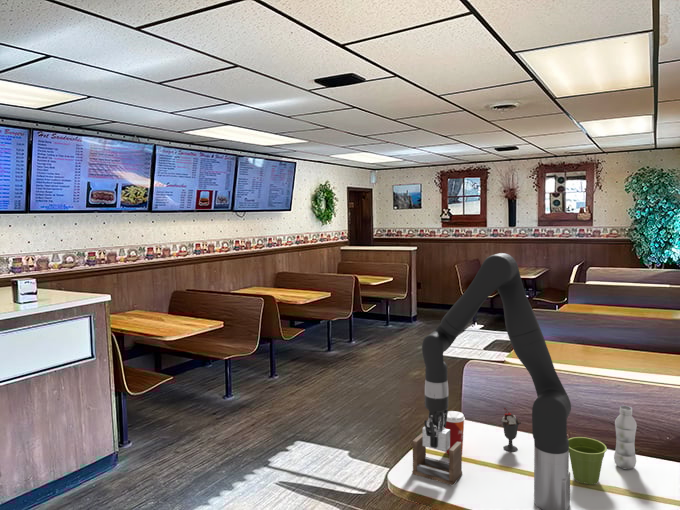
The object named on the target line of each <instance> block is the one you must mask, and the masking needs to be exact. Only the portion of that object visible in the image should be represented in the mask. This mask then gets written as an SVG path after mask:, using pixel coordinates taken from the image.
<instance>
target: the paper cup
mask: <svg viewBox="0 0 680 510" xmlns="http://www.w3.org/2000/svg"><path fill="white" fill-rule="evenodd" d="M465 420H466V418H465V416H464V414H463V412H460V411H457V410H456V411H455V410H448V415H447V422H446V427H445V429H449V430H450V448H451V447H452V446H453V445H454V444H455V443H456V442H457V441H458V442H461V446H462V450H463V446H464V428H465V426H464V425H465ZM450 448H449V449H450ZM449 449H448V450H447V451H446V452H445V453H446V454H447V455H448V456H449Z"/></svg>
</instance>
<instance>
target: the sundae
mask: <svg viewBox="0 0 680 510" xmlns="http://www.w3.org/2000/svg"><path fill="white" fill-rule="evenodd" d="M503 409H504V410H505V413H504V416H503V417H502V419H501V420H500V422H501V423H502V426H503V433H504V437H506V439H507V440H508V444H507V445H504V446H503V450H505V451H506V452H510V453H514V452H517V451H518V448H517V447H516V446H515V445H513V440H514V439H516V438H517V435H518V428H519V425H521V421H520V416H518V418H517V417H516V415H515V414H513V413H511V412H509V410H508V409H507V408H506V407H505V408H503ZM507 412H508V413H507Z"/></svg>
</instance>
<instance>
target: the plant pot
mask: <svg viewBox="0 0 680 510" xmlns="http://www.w3.org/2000/svg"><path fill="white" fill-rule="evenodd" d="M568 440H569V461H570V465H571V471H572V476H573V479H574V480H575V481H576V482H578V483H581V484H587V485H590V486H591V485H596V484H598V483H599V480H600V476H601V471H602V464H603V461H604V456H605V453H606V452H607V451H608V448H607V447H608V446H606V444H605V443H603V442H602V441H600V440H598V439H595V438H589V437H584V436H576V437H570V438H568Z"/></svg>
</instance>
